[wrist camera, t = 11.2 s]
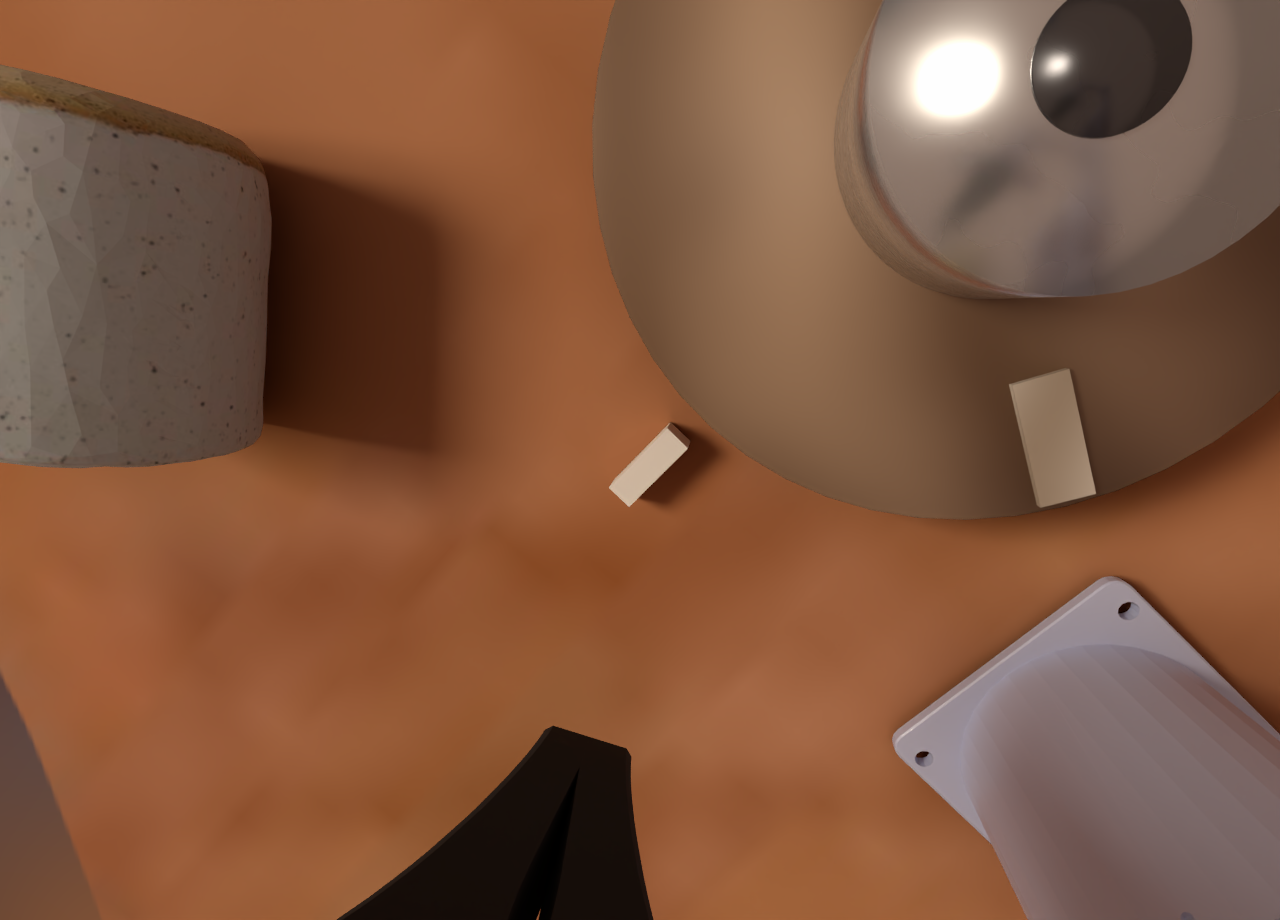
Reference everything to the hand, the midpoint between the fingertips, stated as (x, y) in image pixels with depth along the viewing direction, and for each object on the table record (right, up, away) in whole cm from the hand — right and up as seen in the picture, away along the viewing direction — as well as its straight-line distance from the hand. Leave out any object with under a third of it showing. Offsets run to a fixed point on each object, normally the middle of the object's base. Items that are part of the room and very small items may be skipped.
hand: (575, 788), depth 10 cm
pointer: (+1, +5, +9) cm, 10 cm away
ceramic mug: (-13, +11, +10) cm, 20 cm away
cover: (+9, +12, +3) cm, 15 cm away
